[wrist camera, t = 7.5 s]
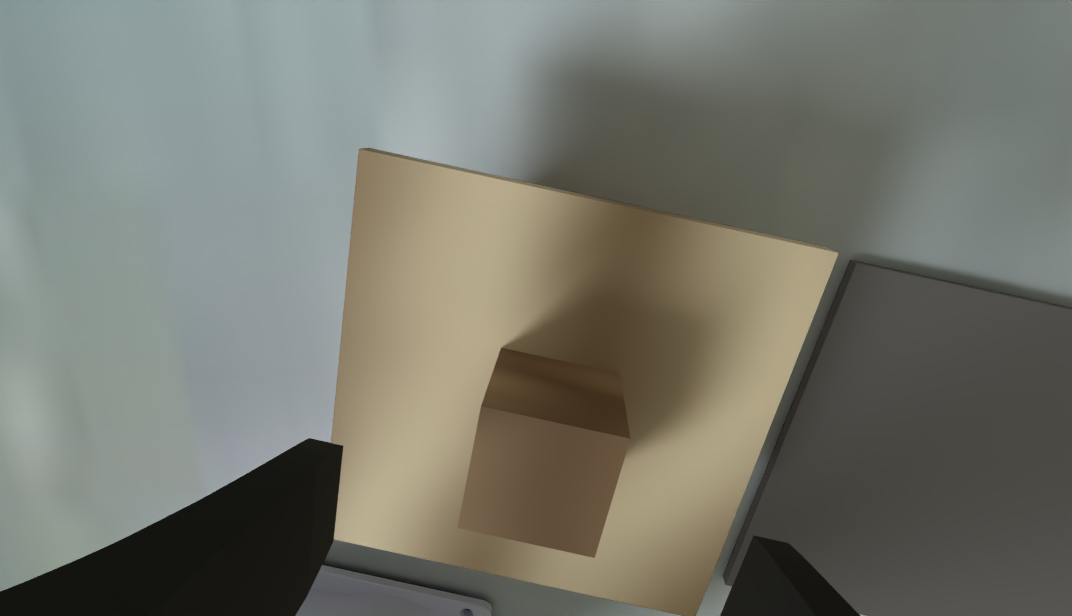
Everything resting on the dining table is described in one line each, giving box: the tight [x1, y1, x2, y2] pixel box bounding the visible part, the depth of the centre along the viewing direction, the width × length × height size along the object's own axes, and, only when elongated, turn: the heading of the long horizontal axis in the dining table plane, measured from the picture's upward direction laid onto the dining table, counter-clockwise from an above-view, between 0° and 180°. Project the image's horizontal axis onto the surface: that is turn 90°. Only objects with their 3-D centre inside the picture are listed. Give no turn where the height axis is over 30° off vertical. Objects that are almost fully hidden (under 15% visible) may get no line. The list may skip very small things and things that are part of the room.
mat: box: [723, 260, 1072, 616], centre depth 19 cm, size 13×13×1 cm
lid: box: [331, 148, 839, 616], centre depth 13 cm, size 11×11×4 cm
